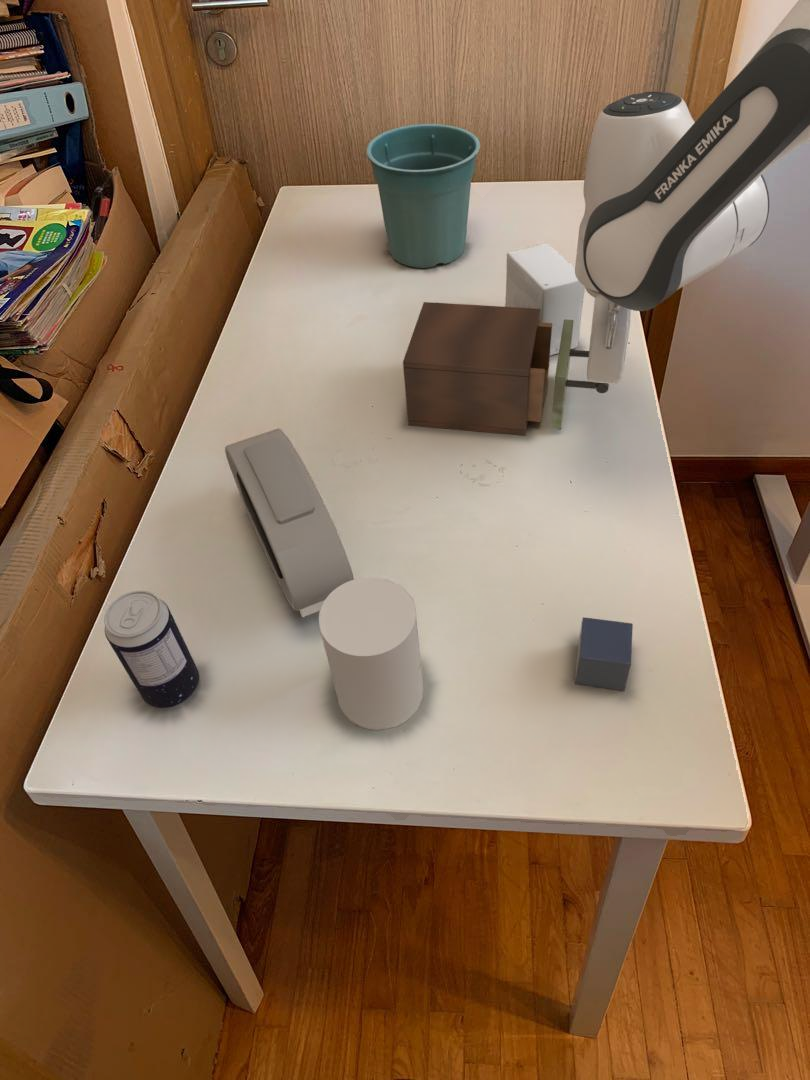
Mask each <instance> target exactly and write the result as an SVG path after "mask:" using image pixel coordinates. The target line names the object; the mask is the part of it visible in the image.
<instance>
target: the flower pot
mask: <svg viewBox="0 0 810 1080" xmlns="http://www.w3.org/2000/svg"><path fill="white" fill-rule="evenodd" d="M480 148H481V142H480V140H479V139H478V137H477V136H476V134H474V133H472V132H470V131H469V130H467V129H464V128H460V127H457V126H454V125H447V124H440V123H419V124H409V125H408V124H407V125H403V126H398V127H395V128H391V129H389V130H386V131H384V132H382V133H379V134H378V135H377V136H375V137H374V138H373V139H371V140H370V142H369V143H368V144H367V146H366V156H367V158H368V161H370V163H371V166H372V172H373V177H374V181H375V183H376V184H377V189H378V193H379V200H380V206H381V211H382V217H383V224H384V231H385V236H386V242H387V248H388V252H389V253H390V254H391V256H392V258H393V260H394V261H396V262H398V263H400V264H402V265H405V266H408V267H412V268H424V269H425V268H426V269H427V268H434V267H435V266H436V265H438V264H443V265H447V264H450V263H452V262H455V260H457V259H459V258H460V256H461V255H463V253H464V251H465V248H466V241H467V240H466V239H467V230H468V228H467V227H468V218H469V208H470V198H471V197H470V196H471V187H472V179H473V177H474V174H475V167H476V165H475V164H476V157H477V156H478V154H479V151H480Z"/></svg>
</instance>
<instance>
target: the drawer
mask: <svg viewBox="0 0 810 1080" xmlns="http://www.w3.org/2000/svg"><path fill="white" fill-rule="evenodd" d="M573 322H574V320H567V319H564V321H563V328H562V335H561V342H560V348H559V353H558V355H557V356H558V357H557V361H556V368H555V369H556V370H555V375H554V388H553V397H552V398H553V399H552V412H551V423H550V429H552V430H561V429H562V424H563V418H564V411H565V410H564V409H565V402H566V395H567V388H579V389H591V390H592V389H593V390H596V392H597V393H598V394H606V393H607V392H608V390H609V387H610V384H609V383H597V382H591V381H589V380H575V379H569V374H570V373H569V372H570V363H571V357H576V358H588V357H589V350H583V349H582V350H581V349H571V343H572V333H573ZM551 335H552V323H540V322H539V323H538V328H537V334H536V339H535V344H534V350H533V355H532V361H531V366H530V372H529V389H528V407H527V421H528V422H535V423H541V422H542V417H543V412H544V411H543V409H544V404H545V398H546V392H547V385H548V379H549V378H548V376H549V373H550V372H549V371H550V361H551V360H550V359H551V355H550V348H551Z"/></svg>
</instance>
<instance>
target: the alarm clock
mask: <svg viewBox="0 0 810 1080" xmlns="http://www.w3.org/2000/svg"><path fill="white" fill-rule="evenodd" d="M224 452H225V457H226V460H227V463H228V465H229V468H230V471H231V474H232V477H233V479H234V483H235V484H236V487H237V490H238V492H239V495H240V497H241V500H242V503H243V505H244V507H245V509H246V512H247V515H248V517H249V520H250V522H251V524H252V526H253V529H254V532H255V533H256V536H257V538H258V541H259V542H260V544H261V547H262V550H263V552H264V554H265V557H266V558H267V561H268V563H269V565H270V567H271V569H272V572H273V574H274V576H275V579H277V582H278V585H279V586H280V588H281V590H282V592H283V594H284V596H285V598H286V600H287V602H288V603H289V605H290V607H291V609H293V611H299V613H300V616H301V618H303V619H304V618H306V617H307V616H310V615H314V614H315V613H318V612H320V609H321V607H322V604H323V603H324V601H325V599H326V598H327V597H328V596H329V594H330V593H331V592H332V591H334V590H335V589H336V588H337V587H339V586H341V585H342V584H344V583H346V582H349V581H351V580H354V579H355V577H354V573H353V569H352V566H351V564H350V560H349V558H348V556H347V552H346V550H345V548H344V545H343V542H342V540H341V538H340V536H339V533H338V530H337V528H336V526H335V524H334V522H333V520H332V517H331V515H330V513H329V511H328V508H327V506H326V504H325V502H324V499H323V498H322V495H321V494H320V492H319V490H318V487H317V486H316V484H315V482H314V480H313V478H312V476H311V474H310V472H309V470H308V469H307V467H306V465H305V463H304V462H303V460H302V458H301V456H300V454H299V452H298V451H297V449H296V448H295V446H294V445H293V443H292V441H291V440H290V439H289V437H288V436H287V434H286V433H285V432H284V431H283V429H281V428H275V429H272V430H269V431H266V432H263V433H259V434H257V435H254V436H251V437H248V438H245V439H242V440H239V441H236V442H233V443H230V444H226V446H225V447H224Z"/></svg>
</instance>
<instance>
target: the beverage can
mask: <svg viewBox="0 0 810 1080" xmlns="http://www.w3.org/2000/svg"><path fill="white" fill-rule="evenodd" d="M103 623H104V636H105V638H106V640H107V641H108V643H109V645H110V647H111V648H112V650H113V651H114V653H115V655H116V656H117V658H118V660H119V662H120V664H121V665H122V667H123V668H124V670H125V672H126V673H127V675H128V677H129V679H130V680H131V682H132V683H133V685H134V687H135V689H136V690H137V692H138V694H139V695H140V697H141V699H142V700H143V702H144V703H146V704H148V705H149V706H150V707H153V708H156V709H157V708H158V709H169V708H173V707H176V706H178V705H181V704H182V703H184V702H186V701H187V700H188V699H189V698H190V697H191V696H192V695H193V694H194V692H195V691H196V689H197V687H198V685H199V683H200V682H199V681H200V672H199V669H198V667H197V665H196V663H195V661H194V658H193V656H192V654H191V652H190V650H189V648H188V646H187V644H186V642H185V639H184V637H183V635H182V633H181V631H180V629H179V626H178V624H177V622H176V621H175V619H174V616H173V614H172V612H171V610H170V607H169V606H168V604H167V603H166V602H165V601H164V600H162V599H161V598H159V597H158V596H157V595H155V594H154V593H153V592H150V591H148V590H134V591H129V592H127V593H124V594H122V595H120V596H119V597H117V598H116V599H115V600H113V601H112V602H111V603H110V605H108V607H107V609H106V611H105V613H104V618H103Z"/></svg>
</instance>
